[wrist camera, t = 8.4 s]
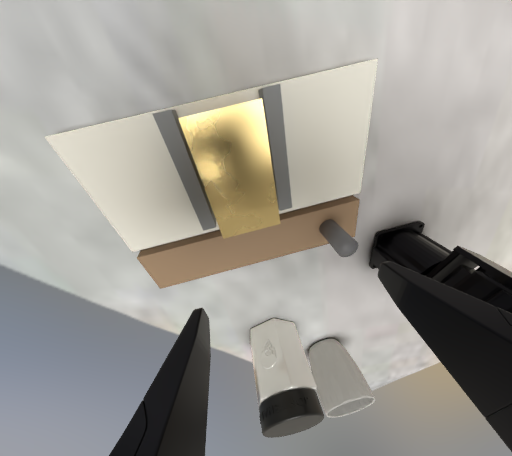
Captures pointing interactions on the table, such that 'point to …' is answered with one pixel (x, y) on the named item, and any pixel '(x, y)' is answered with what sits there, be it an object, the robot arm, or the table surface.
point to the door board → (191, 187)
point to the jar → (283, 380)
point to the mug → (338, 379)
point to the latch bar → (234, 165)
